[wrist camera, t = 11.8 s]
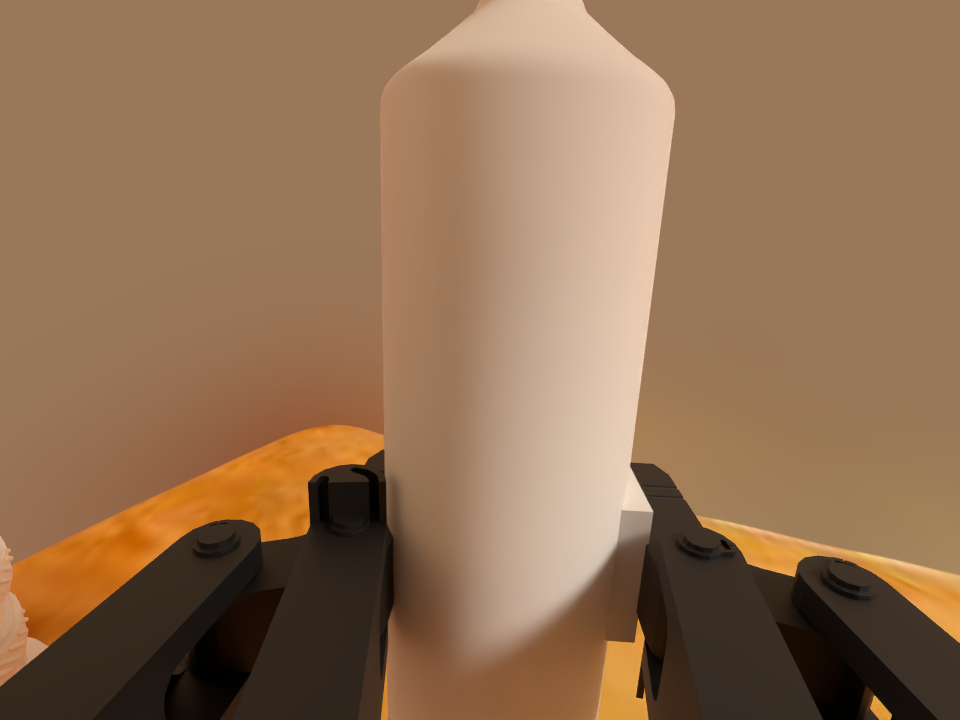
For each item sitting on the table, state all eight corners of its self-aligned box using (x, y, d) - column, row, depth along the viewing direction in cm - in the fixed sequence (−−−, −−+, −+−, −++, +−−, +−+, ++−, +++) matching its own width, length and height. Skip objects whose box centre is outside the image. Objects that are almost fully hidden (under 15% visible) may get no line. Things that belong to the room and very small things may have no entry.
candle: (285, 1002, 13) (164, -200, 6) (465, 782, 18) (497, 1, 12) (498, 1408, 9) (775, -1028, 2) (653, 963, 14) (867, -119, 7)
